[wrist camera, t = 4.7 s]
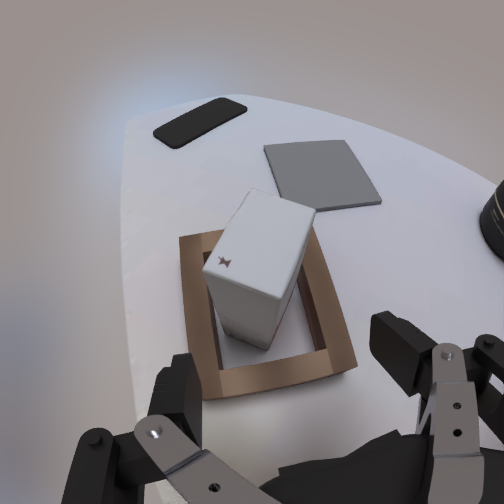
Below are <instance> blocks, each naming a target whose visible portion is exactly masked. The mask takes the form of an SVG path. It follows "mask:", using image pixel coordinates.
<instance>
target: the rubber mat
mask: <svg viewBox="0 0 504 504" xmlns="http://www.w3.org/2000/svg"><path fill="white" fill-rule="evenodd" d="M264 151H265V154H266V156H267V159H268V162H269V165H270V168H271V170H272V173H273V176H274V179H275V182H276V185H277V187H278V190H279V193H280V196H281V198H283V199H286V200H289V201H292V202H295V203H298V204H301V205H304V206H307V207H310V208H313V209H315V210H316V212H320V211H327V210H335V209H342V208H350V207H358V206H366V205H374V204H381V202H382V199H381V197H380V196H379V194H378V192H377V190H376V189H375V187H374V185H373V184H372V182H371V180H370V179H369V177H368V175H367V174H366V172H365V171H364V169H363V167H362V166H361V164H360V163H359V161H358V160H357V158H356V156H355V155H354V153H353V152H352V150H351V149H350V147H349V146H348V144H347V143H346V142H345V140H327V141H309V142H295V143H283V144H273V145H264Z"/></svg>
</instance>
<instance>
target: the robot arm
mask: <svg viewBox="0 0 504 504" xmlns="http://www.w3.org/2000/svg"><path fill="white" fill-rule="evenodd" d="M369 346H370V351H371V353H372V355H373V356H374V357H375V359H376V360H377V361H378V362H379V363H380V364H381V365H382V367H383V368H384V369H385V370H386V371H387V372H388V373H389V375H390V376H391V377H392V378H393V379H394V380H395V381H396V383H397V384H398V385H399V386H400V387H401V388H402V389H403V391H404V392H405V393H406V394H407V395H408V396H409V397H411V396H413V395H415V394H417V393H420V395H421V396H420V399H419V407H418V416H417V424H416V431H415V434H409V435H402V436H401V435H400V433H399V432H398V430H397V429H396V430H394V431H391V432H389V433H387V434H385V435H382V436H380V437H378V438H375V439H373V440H371V441H369V442H368V443H366V444H365V445H363V446H362V447H360V448H358V449H357V450H355V451H354V452H352V453H350V454H349V455H347V456H345V457H341V458H333V459H324V460H312V461H307V462H303V463H299V464H295V465H290V466H286V467H281V468H278V470H279V476H278V477H276V478H273V479H271V480H270V481H268V482H266V483H265V484H263V485H262V486H260V487H259V488H257V487H256V486H254V485H253V484H251V483H250V482H249V481H247V480H246V479H245V478H243V477H242V476H240V475H239V474H238V473H236V472H235V471H234V470H233V469H231V468H230V467H229V466H227V465H226V464H225V463H224V462H222V461H221V460H220V459H219V458H218V457H216V456H215V455H214V454H213V453H211V452H210V451H209V450H207V449H205V450H202V386H201V381H200V378H199V375H198V372H197V369H196V366H195V362H194V359H193V356H192V354H191V353H185V354H177V355H173V359H172V363H171V367H164V368H163V369H162V370H161V371H160V372H159V374H158V375H157V377H156V381H155V385H154V389H153V393H152V398H151V402H150V406H149V410H148V415H147V417H145V418H143V419H141V420H140V421H139V422H138V423H137V424H136V426H135V428H134V431H132V432H129V433H125V434H121V435H116V436H113V435H112V434H111V433H110V432H109V431H108V430H106V429H104V428H93V429H90V430H88V431H87V432H85V433H84V434H83V435H82V436H81V438H80V440H79V442H78V445H77V448H76V452H75V455H74V458H73V461H72V465H71V468H70V472H69V475H68V479H67V483H66V486H65V490H64V494H63V498H62V502H61V504H144V489H145V484H148V483H152V482H156V481H160V480H164V479H167V481H168V482H169V483H170V484H171V485H172V486H173V487H174V488H175V490H176V491H177V492H178V493H179V494H180V495H181V496H182V497H183V498H184V499H185V500H186V501H187V502H188V503H189V504H504V451H500V450H494V449H488V448H482V447H480V443H479V421H478V415H479V416H480V418H481V419H482V420H483V421H484V422H485V423H486V424H487V426H488V427H489V428H490V429H491V430H492V431H493V432H494V434H495V435H496V436H497V437H498V438H499V440H500V441H501V442H502V443H503V444H504V394H503V395H502V394H501V393H500V392H499V391H498V390H497V389H496V388H495V387H494V386H493V385H492V384H491V383H489V380H490V378H491V375H492V373H493V374H494V375H495V376H496V377H497V378H499V379H500V380H501V381H502V382H503V384H504V342H503V341H502V340H500V339H499V338H497V337H496V336H494V335H490V334H484V335H480V336H478V337H477V338H476V341H475V344H474V347H472V348H468V349H464V350H461V348H460V347H458V346H457V345H454V344H451V343H442V344H437V343H436V342H435V341H434V340H432V339H431V338H430V337H429V336H427V335H426V334H425V333H423V332H421V330H420V329H418V328H417V327H415V326H414V325H413V324H412V323H410V322H409V321H407V320H404V319H402V318H397V317H396V316H394V315H393V314H392V313H391V312H389V311H384V312H381V313H377V314H374V315H372V317H371V326H370V341H369Z"/></svg>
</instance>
